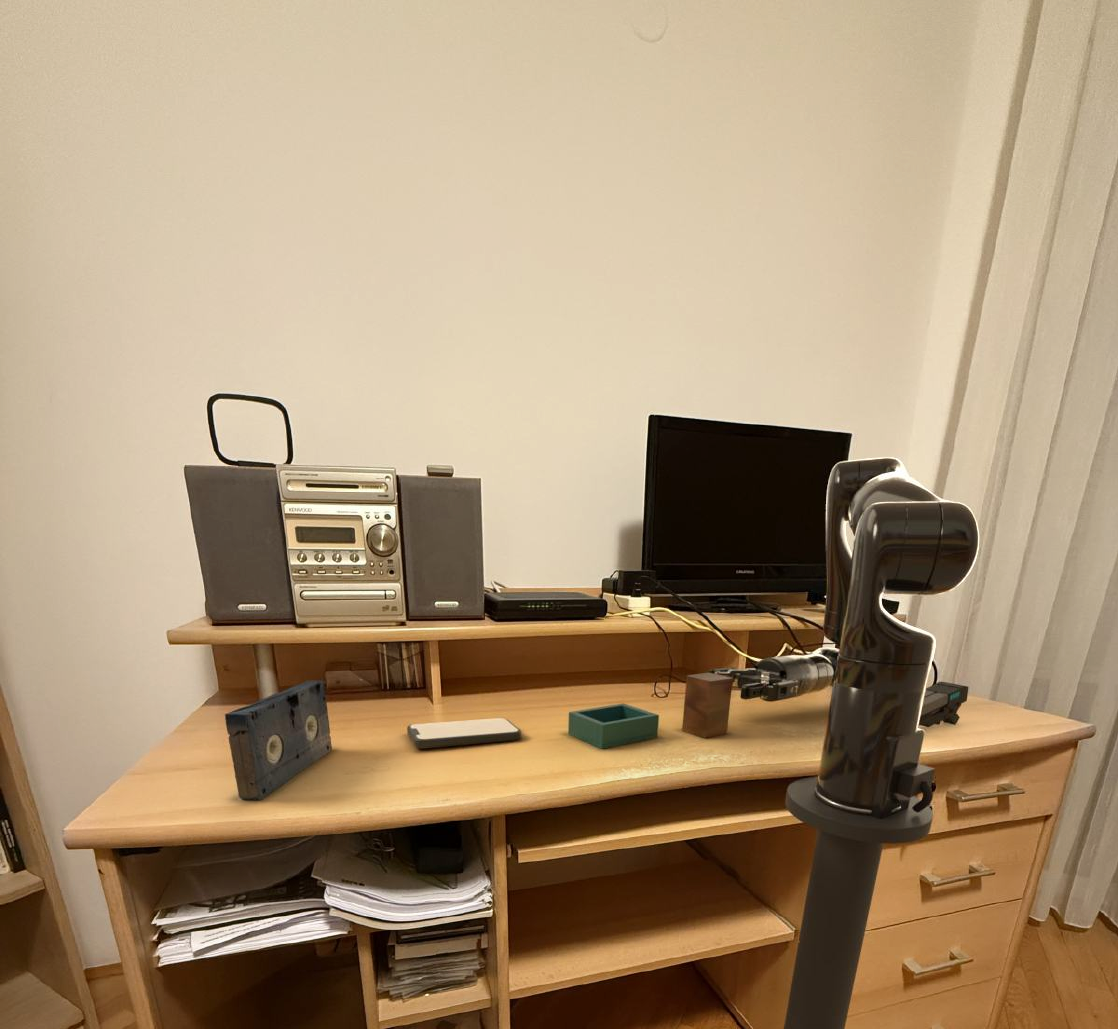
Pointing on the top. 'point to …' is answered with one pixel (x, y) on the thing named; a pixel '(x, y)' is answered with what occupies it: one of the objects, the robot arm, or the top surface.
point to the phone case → (462, 732)
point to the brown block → (707, 704)
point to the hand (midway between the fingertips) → (721, 687)
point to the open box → (613, 725)
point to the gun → (942, 703)
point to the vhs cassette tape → (278, 738)
